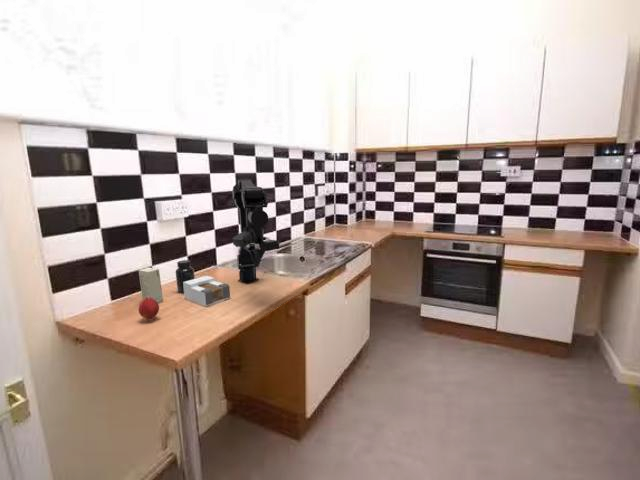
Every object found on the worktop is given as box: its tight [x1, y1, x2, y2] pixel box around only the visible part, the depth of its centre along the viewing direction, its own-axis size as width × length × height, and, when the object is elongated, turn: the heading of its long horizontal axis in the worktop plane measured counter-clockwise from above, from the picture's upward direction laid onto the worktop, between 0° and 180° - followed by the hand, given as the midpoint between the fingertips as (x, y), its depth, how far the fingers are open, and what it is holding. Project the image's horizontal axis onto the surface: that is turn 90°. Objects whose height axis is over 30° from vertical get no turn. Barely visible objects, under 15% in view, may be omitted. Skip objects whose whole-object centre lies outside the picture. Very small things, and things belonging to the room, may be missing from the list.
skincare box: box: [138, 267, 164, 304], centre depth 122 cm, size 6×4×12 cm
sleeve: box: [183, 275, 231, 307], centre depth 125 cm, size 10×14×6 cm
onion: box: [138, 296, 160, 321], centre depth 107 cm, size 6×6×8 cm
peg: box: [199, 283, 223, 302], centre depth 124 cm, size 4×10×4 cm, turn 52°
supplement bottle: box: [175, 259, 196, 294], centre depth 133 cm, size 7×7×12 cm
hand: (256, 266), depth 122 cm, fingers closed
